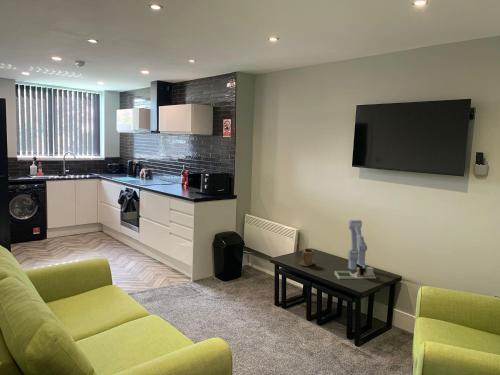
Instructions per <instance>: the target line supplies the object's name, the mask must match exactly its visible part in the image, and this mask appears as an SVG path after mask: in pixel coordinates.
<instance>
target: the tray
mask: <svg viewBox="0 0 500 375" xmlns="http://www.w3.org/2000/svg"><path fill="white" fill-rule="evenodd" d="M339 274H349V276H347V275H346V276H344V275H343V276H341V275H339ZM353 274H354V273H352V272H351V271H350V270H335V271H334V275H335V277H336V278H337V280H338V281H340V280H355V279H356V278H355V277H354V275H353Z"/></svg>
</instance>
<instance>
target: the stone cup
mask: <svg viewBox="0 0 500 375" xmlns="http://www.w3.org/2000/svg"><path fill="white" fill-rule="evenodd" d="M301 254H302V256H301V257H302V261H299V263H298V264H299V265H300V266H302V267H303V266H304V267H309V266H311V265H314V264H316V261H315V260H314V259H313V258H314V255H315V251H314V249H313V248H304V249H303V251H302V253H301Z"/></svg>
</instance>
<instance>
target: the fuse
mask: <svg viewBox="0 0 500 375" xmlns="http://www.w3.org/2000/svg"><path fill="white" fill-rule="evenodd" d="M365 267H366V270H365V273H366V274H367V277H368V276H373V273H374V267H371V266H369V267H367V266H365Z"/></svg>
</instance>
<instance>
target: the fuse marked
mask: <svg viewBox="0 0 500 375" xmlns="http://www.w3.org/2000/svg"><path fill="white" fill-rule="evenodd" d="M356 272H357V273H358V277H359V276H364V274H363V275H360V269H359V267H357V270H356Z"/></svg>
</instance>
